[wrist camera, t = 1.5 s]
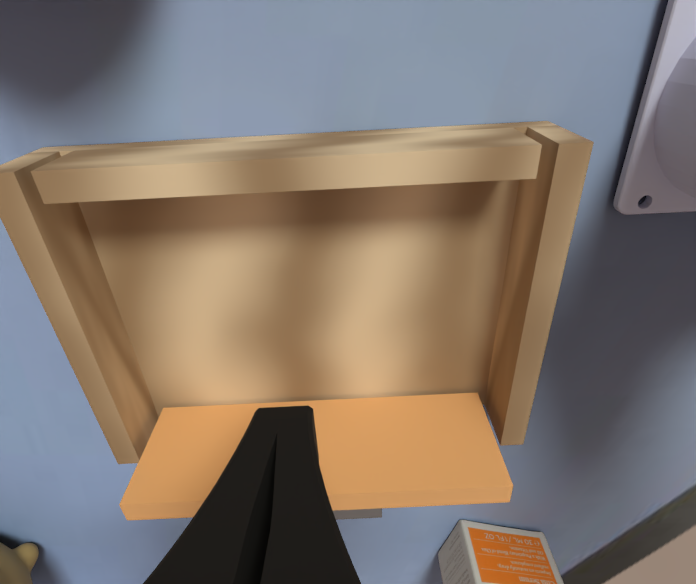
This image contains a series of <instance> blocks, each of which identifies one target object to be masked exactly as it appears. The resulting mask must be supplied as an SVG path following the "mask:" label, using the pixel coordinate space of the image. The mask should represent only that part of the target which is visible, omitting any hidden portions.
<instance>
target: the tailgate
mask: <svg viewBox="0 0 696 584" xmlns="http://www.w3.org/2000/svg"><path fill="white" fill-rule="evenodd" d="M307 405H308V406H310V407H311V408H313V412H314V421H315V429H316V437H317V446H318V454H319V466H320V470H321V473H322V477H323V481H324V485H325V488H326V492H327V495H328V498H329V501H330V504H331V507H332V510H333V513H334V516H335V519H357V518H378V517H382V508H398V507H419V506H440V505H460V504H481V503H502V502H510V498H511V494H512V489H513V484H512V481H511V479H510V476H509V474H508V471H507V468H506V466H505V463H504V460H503V458H502V455H501V453H500V450H499V447H498V445H497V442H496V440H495V437H494V434H493V432H492V429H491V426H490V424H489V421H488V419H487V416H486V413H485V411H484V408H483V405H482V403H481V400H480V398H479V395H478V392H477V393H456V394H436V395H416V396H395V397H375V398H354V399H334V400H314V401H293V402H273V403H252V404H232V405H212V406H191V407H171V408H163V409H162V412H161V414H160V416H159V418H158V421H157V423H156V425H155V427H154V429H153V432H152V434H151V436H150V438H149V440H148V443H147V445H146V447H145V449H144V451H143V454H142V456H141V458H140V460H139V463H138V465H137V467H136V469H135V471H134V474H133V476H132V478H131V480H130V482H129V485H128V487H127V489H126V491H125V493H124V496H123V498H122V500H121V502H120V504H119V505H120V507H121V509H122V511H123V513H124V515H125V517H126V519H127V520H146V519H167V518H188V517H194V516H195V514H196V513H197V511H198V510H199V508H200V507H201V505H202V504H203V502H204V501H205V499H206V498H207V496H208V495H209V493H210V492H211V490H212V489H213V487H214V485H215V484H216V482H217V481H218V479H219V477H220V476H221V474H222V472H223V471H224V469H225V467H226V466H227V464H228V462H229V461H230V459H231V457H232V455H233V454H234V452H235V450H236V448H237V446H238V445H239V443H240V441H241V439H242V437H243V435H244V433H245V431H246V429H247V427H248V425H249V423H250V421H251V419H252V417H253V415H254V413H255V411H256V410H257V409H258V408H267V407H287V406H307Z"/></svg>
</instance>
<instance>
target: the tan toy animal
mask: <svg viewBox="0 0 696 584" xmlns="http://www.w3.org/2000/svg"><path fill="white" fill-rule="evenodd" d="M38 555H39V550H38V547H37V546H36V545H35V544H33V543H24V544H22V545H20V546H18V547H16V548H14V549H10V548H8V547H7V546H5V545H4V544H2V543H0V584H33V583H32V579H31V575H30V574H31V570H32V568H33V566H34V565H35V563H36V561H37V558H38Z"/></svg>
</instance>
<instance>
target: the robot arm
mask: <svg viewBox="0 0 696 584" xmlns="http://www.w3.org/2000/svg"><path fill="white" fill-rule="evenodd" d="M643 196H646V199H645V201H644V202H643V203H642V204H639V205H638V202H639V200H640V199H641V198H642V197H643ZM613 205H614V207H615V209H616V210H617V211H619V212H620V213H622V214H626V215H633V214H652V213H672V212H691V211H696V0H668V4H667V8H666V11H665V15H664V19H663V22H662V26H661V30H660V33H659V37H658V41H657V44H656V48H655V51H654V55H653V59H652V62H651V66H650V70H649V73H648V77H647V81H646V84H645V88H644V92H643V95H642V99H641V103H640V106H639V110H638V114H637V117H636V121H635V125H634V128H633V132H632V135H631V139H630V143H629V146H628V150H627V154H626V157H625V161H624V165H623V168H622V172H621V176H620V179H619V183H618V187H617V190H616V194H615V198H614V204H613ZM143 584H361V582H360V580H359V578H358V575H357V573H356V571H355V568H354V566H353V564H352V561H351V559H350V556H349V554H348V551H347V549H346V546H345V544H344V541H343V539H342V536H341V533H340V531H339V528H338V525H337V522H336V519H335V516H334V513H333V510H332V507H331V504H330V501H329V498H328V495H327V492H326V488H325V485H324V481H323V477H322V473H321V470H320V466H319V454H318V446H317V437H316V429H315V421H314V412H313V408H311V407H310V406H308V405H307V406H287V407H267V408H258V409H257V410H256V411H255V413H254V415H253V417H252V419H251V421H250V423H249V425H248V427H247V429H246V431H245V433H244V435H243V437H242V439H241V441H240V443H239V445H238V446H237V448H236V450H235V452H234V454H233V455H232V457H231V459H230V461H229V462H228V464H227V466H226V467H225V469H224V471H223V472H222V474H221V476H220V477H219V479H218V481H217V482H216V484H215V485H214V487H213V489H212V490H211V492H210V493H209V495H208V496H207V498H206V499H205V501H204V502H203V504H202V505H201V507H200V508H199V510H198V511H197V513H196V514H195V516H194V517H193V519H192V520H191V522H190V523H189V525H188V526H187V527H186V529H185V530H184V532H183V533H182V534H181V536H180V537H179V538H178V540H177V541H176V543H175V544H174V545H173V547H172V548H171V549H170V550H169V552H168V553H167V554H166V556H165V557H164V558H163V560H162V561H161V562H160V563H159V565H158V566H157V567H156V569H155V570H154V571H153V572H152V573H151V575H150V576H149V577H148V578H147V580H146V581H145V582H144V583H143Z"/></svg>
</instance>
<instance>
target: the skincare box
mask: <svg viewBox="0 0 696 584" xmlns="http://www.w3.org/2000/svg"><path fill="white" fill-rule="evenodd" d="M438 559H439V565H440V570H441V576H442V581H443V584H564V583H563V581H562V578H561V576H560V573H559V571H558V568H557V566H556V563H555V561H554V558H553V556H552V553H551V551H550V548H549V545H548V543H547V540H546V538H545V535H544V534H543V533H542V532H537V531H527V530H521V529H514V528H508V527H501V526H495V525H489V524H484V523H478V522H472V521H468V520H459V521H458V523H457V525H456V526H455V528H454V529H453V531H452V532H451V534H450V536H449V537H448V539H447V540H446V542H445V543H444V545H443V546H442V547H441V549H440V551H439V552H438Z"/></svg>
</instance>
